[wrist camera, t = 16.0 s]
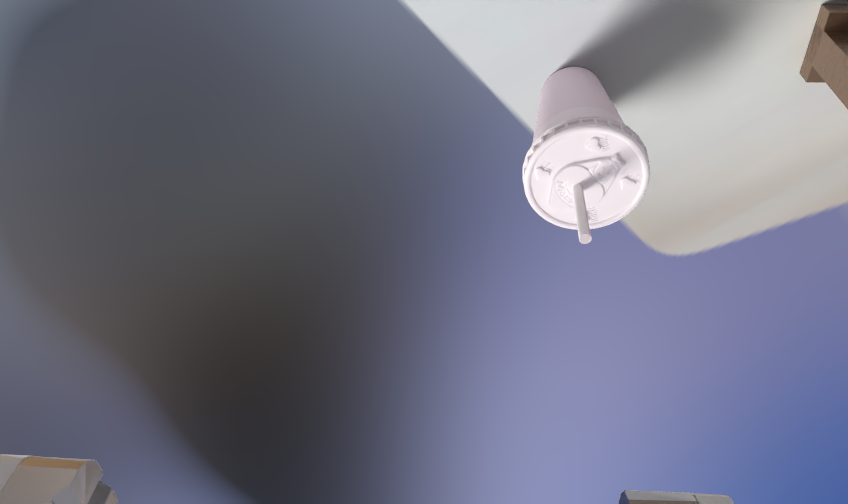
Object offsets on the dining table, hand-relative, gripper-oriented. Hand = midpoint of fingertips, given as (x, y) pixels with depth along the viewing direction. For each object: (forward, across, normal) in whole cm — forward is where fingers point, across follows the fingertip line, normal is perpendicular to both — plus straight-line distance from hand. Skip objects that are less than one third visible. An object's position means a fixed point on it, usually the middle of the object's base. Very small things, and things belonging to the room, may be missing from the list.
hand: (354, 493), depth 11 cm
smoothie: (+34, -7, +10) cm, 36 cm away
